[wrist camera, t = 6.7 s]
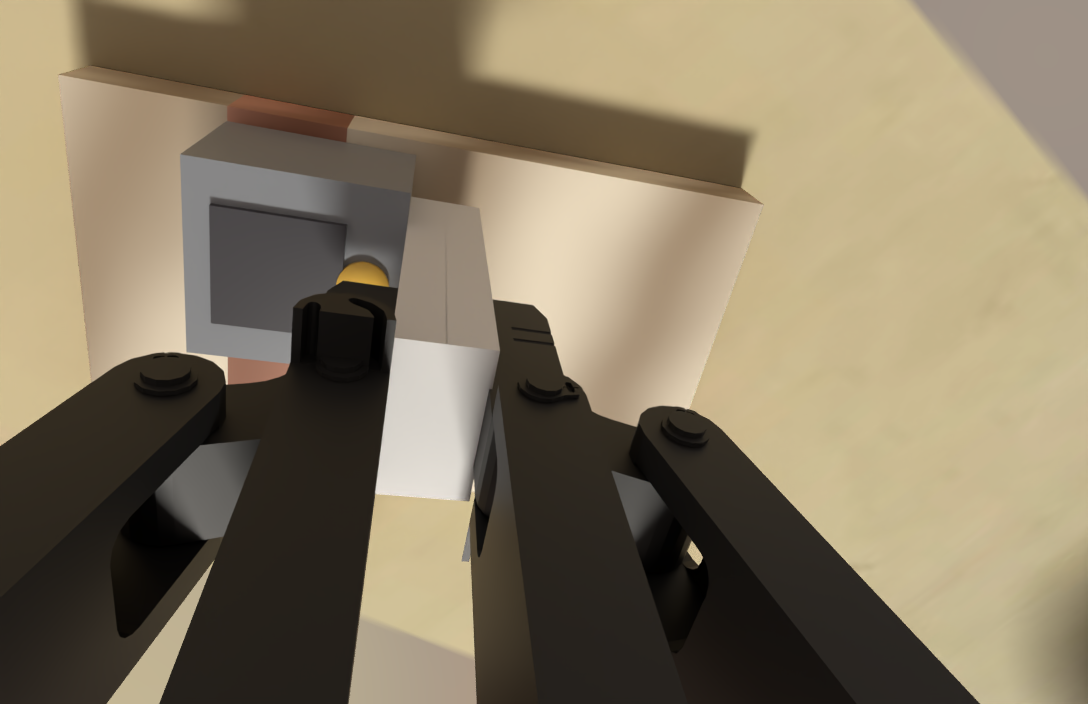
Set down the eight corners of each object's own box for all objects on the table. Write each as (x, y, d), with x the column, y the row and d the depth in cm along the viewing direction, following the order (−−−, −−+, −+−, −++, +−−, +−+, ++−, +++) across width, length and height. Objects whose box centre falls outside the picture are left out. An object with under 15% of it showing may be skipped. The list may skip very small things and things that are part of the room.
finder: (416, 155, 15) (410, 195, 13) (396, 313, 17) (388, 378, 15) (226, 120, 15) (177, 156, 12) (226, 291, 16) (184, 355, 14)
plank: (741, 188, 19) (764, 205, 17) (641, 476, 23) (653, 507, 22) (90, 65, 15) (57, 74, 14) (122, 430, 20) (99, 462, 19)
